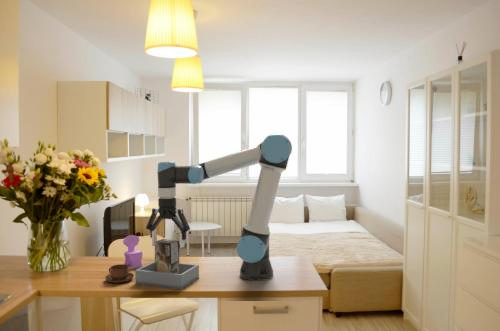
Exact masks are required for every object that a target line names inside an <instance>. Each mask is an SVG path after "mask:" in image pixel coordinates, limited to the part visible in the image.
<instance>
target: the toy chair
mask: <svg viewBox="0 0 500 331" xmlns="http://www.w3.org/2000/svg"><path fill="white" fill-rule="evenodd" d="M139 242H140V238H139V236H137V235H134V234H130V235H127V236H126V237H124V238H123V240H122V243H123V244H124V246H125V247H127V250H125V251H123V252H124V253H123V254H124V258H125V260H124V263H123V264H124V265H128V266H130V268H129V270H136V269H139V268H141V267H143V264H142V259H143V251H140V250H139V249H135V247H137V246H138V244H139Z"/></svg>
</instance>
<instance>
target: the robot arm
mask: <svg viewBox="0 0 500 331" xmlns="http://www.w3.org/2000/svg"><path fill="white" fill-rule="evenodd" d="M292 151H293V146H292V142H291V141H290V139H289V138H288V137H287V136H285V135H284V134H281V133H278V132H277V133H272V134H269V135H267V136H266V137H265V138H264V139H263V141H262V142H259V143H257V145H256V146H252V147H250V148H246V149H244V150H241V151H236V152H234V153H229V154H227V155H224V156H221V157H218V158H215V159H211V160H208V161H204V162H202V163H197V164H193V165H182V166H181V165H176V162H175V161H159V162H158V164H157V196H158V199H157V200H158V201H157V204H158V208H157V207H154V208H152V209H151V214H150V218H149V220H148V222H147V225H146V226H145V229H147V230H149V232H150V233H149V234H150V239H151V245H152V247H155V242H156V241H158V236H157V235H158V233H157V231H158V230H157V227H158V226H159V225H160V223H161V222H162V220H166V219H167V220H171V221H173V223H174V224H175V226H177V228H178V229H179V230H180V232H179V249H182V248H184V247H185V244H186V243H185V240H187V232H188V231H190V230H191V227H190V225H189V223H188V220H187V218H186V217H185V214H184V209H183V208H179V209H177V198H176V196H177V191H176V190H177V189H176V188H177V186H176V185H177V184H185V185H188V184H189V185H190V184H191V185H195V184H202V183H203V181H204V180H207V179H211V178H214V177H218V176H221V175H224V174H228V173H231V172H233V171H237V170H240V169H245V168H247V167H251V166H255V165H257V164H258V165H259V166H260V170H259V176H258V180H257V184H256V186H255V187H256V188H255V192H254V194H253V200H252V204H251V208H250V213H249V217H248V221H247V223H245V224H243V225H242V229H241V233H240V238H239V240H238V241H237V244H236V253H237V255H238V257H239V258H240V259H241V260H242V262H241V266H240V269H239V276H240V278H242V279H243V280H247V281H248V280H249V281H265V280H269V279H272V278H273V276H274V269H273V266H272V263H271V259H270V234H271V232H270V227H269V223H270V220H271V215H272V211H273V207H274V205H275V204H274V203H275V199H276V196H277V192H278V188H279V184H280V180H281V175H282V173H283V172H284V171H285V170H287V167H288V163H289V160H290V155H291V154H292ZM158 214H159V215H158ZM157 215H158V216H157ZM155 219H156V220H155Z"/></svg>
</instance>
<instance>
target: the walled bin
mask: <svg viewBox="0 0 500 331" xmlns="http://www.w3.org/2000/svg"><path fill="white" fill-rule="evenodd" d="M179 269H180V274H174V273H165V272H155V260H154V261H152V262H150V263H148V264H146V265H144V266H143V265H142V267H140V268H136V269H134V270H135V272H134V273H135V275H134V277H135V281H134V282H135V283H134V284H135V285H137V286H138V285H140V286H147V287H158V288H165V289H172V290H173V289H175V290H183V289H185V288H186V287H188V286H190V285H191V284H192V283H194V282H196V281H198V280H199V279H200V278H199V277H200V265H199V264H194V263H193V264H192V263H183V262H179Z"/></svg>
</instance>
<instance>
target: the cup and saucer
mask: <svg viewBox="0 0 500 331" xmlns="http://www.w3.org/2000/svg"><path fill="white" fill-rule="evenodd" d="M108 271H109V274H107V275H106V276H105V277H104V279H105V280H106V281H107V282H108V283H114V284H117V283H118V284H120V283H125V282H129V281H130V280H132V279H133V278H134V277H135V275H134V273H131V272H129V265H124V263H123V264H115V265H112V266H110V267H109V269H108Z"/></svg>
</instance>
